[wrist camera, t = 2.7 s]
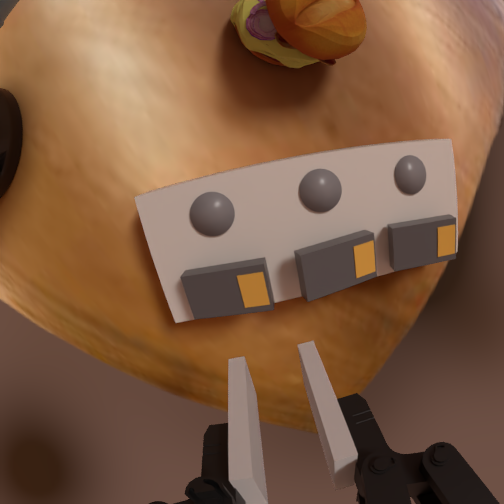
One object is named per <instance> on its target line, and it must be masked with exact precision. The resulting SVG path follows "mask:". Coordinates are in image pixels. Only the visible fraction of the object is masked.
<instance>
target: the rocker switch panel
mask: <svg viewBox="0 0 504 504" xmlns="http://www.w3.org/2000/svg"><path fill="white" fill-rule="evenodd" d="M134 198H135V202H136V205H137V209H138V212H139V216H140V219H141V223H142V226H143V230H144V233H145V236H146V239H147V243H148V246H149V249H150V252H151V255H152V258H153V261H154V264H155V267H156V270H157V273H158V276H159V279H160V282H161V285H162V288H163V291H164V293H165V296H166V299H167V302H168V304H169V307H170V310H171V312H172V315H173V318H174V320H175V323H178V322H184V321H189V320H195V319H194V317H193V314H192V311H191V308H190V305H189V302H188V299H187V296H186V293H185V290H184V287H183V284H182V281H181V278H180V277H181V275H182V274H183V273H184V271H185V270H189V269H196V268H202V267H208V266H214V265H220V264H227V263H233V262H239V261H245V260H251V259H257V258H263V257H265V259H266V263H267V268H268V272H269V277H270V282H271V287H272V291H273V296H274V301H275V303H276V302H280V301H284V300H289V299H293V298H297V297H301V296H302V295H301V290H300V284H299V278H298V272H297V266H296V260H295V255H294V250H298V249H301V248H305V247H308V246H311V245H315V244H318V243H321V242H325V241H328V240H332V239H335V238H338V237H342V236H345V235H348V234H352V233H355V232H358V231H362V230H367V231H370V232H373V233H374V239H375V251H376V267H377V276H381V275H385V274H388V273H391V272H395V271H394V270H393V269H392V268H391V267H390V261H389V242H388V228H387V224H393V223H399V222H405V221H411V220H417V219H423V218H429V217H435V216H441V215H447V214H450V215H452V216H454V217H456V252H457V247H458V210H457V189H456V176H455V165H454V156H453V148H452V141H451V139H424V140H412V141H401V142H391V143H382V144H373V145H365V146H358V147H350V148H343V149H336V150H330V151H324V152H317V153H311V154H306V155H300V156H294V157H289V158H284V159H278V160H273V161H268V162H264V163H259V164H254V165H249V166H245V167H240V168H236V169H231V170H227V171H223V172H219V173H215V174H211V175H207V176H203V177H199V178H195V179H191V180H187V181H183V182H180V183H176V184H172V185H169V186H165V187H162V188H158V189H155V190H151V191H148V192H146V193H143V194H141V195H138V196H136V197H134Z"/></svg>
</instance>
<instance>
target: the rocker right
mask: <svg viewBox="0 0 504 504" xmlns="http://www.w3.org/2000/svg"><path fill="white" fill-rule="evenodd" d="M387 228H388V242H389V261H390V267H391V268H392V269H393V270H394V271H399V270H404V269H409V268H414V267H419V266H424V265H428V264H433V263H438V262H442V261H447V260H451V259H455V258H456V217H454V216H452V215H450V214H447V215H441V216H435V217H429V218H423V219H417V220H411V221H405V222H399V223H393V224H387Z"/></svg>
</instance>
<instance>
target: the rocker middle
mask: <svg viewBox="0 0 504 504" xmlns="http://www.w3.org/2000/svg"><path fill="white" fill-rule="evenodd" d="M294 255H295V260H296V266H297V272H298V278H299V284H300V290H301V295H302V296H303V297H304V298H305V299H306V300H307V301H308V302H309V301H312V300H315V299H318V298H320V297H323V296H326V295H329V294H332V293H334V292H337V291H340V290H343V289H345V288H348V287H351V286H353V285H356V284H359V283H361V282H364V281H366V280H369V279H372V278H374V277H377V267H376V251H375V239H374V233H373V232H370V231H367V230H362V231H358V232H355V233H352V234H348V235H345V236H342V237H338V238H335V239H332V240H328V241H325V242H321V243H318V244H315V245H311V246H308V247H305V248H301V249H298V250H294Z"/></svg>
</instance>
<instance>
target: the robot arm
mask: <svg viewBox="0 0 504 504" xmlns="http://www.w3.org/2000/svg"><path fill="white" fill-rule="evenodd" d="M18 2H19V0H0V28H1V27H2V26H3V24H4V20H5V19H6V17H7V16H8V15H9V13H10V12H11V11H12V9H13V8H14V7H15V5H16V4H17V3H18ZM21 145H22V119H21V113H20V109H19V106H18V103H17V101H16V99H15V97H14V96H13V95H12V94H11V93H10V92H9V91H8V90H6V89H2V88H0V198H1V197H2V196H3V194H4V193H5V192H6V190H7V189H8V187H9V185H10V183H11V181H12V179H13V177H14V174H15V172H16V168H17V165H18V161H19V157H20V152H21ZM298 351H299V356H300V362H301V368H302V374H303V380H304V385H305V389H306V392H307V396H308V399H309V402H310V406H311V409H312V413H313V416H314V419H315V423H316V426H317V430H318V433H319V437H320V440H321V444H322V447H323V450H324V454H325V457H326V461H327V464H328V468H329V472H330V475H331V479H332V482H333V486H334V489H335V490H338V489H341V488H345V487H348V486H352V485H354V482H355V483H356V486H357V489H358V493H357V499H356V501H358V502H359V504H411V500H410V497H412V498H413V500H414V502H415V503H416V504H499V502H498V501H497V500H496V498H495V497H494V496H493V495H492V493H491V492H490V491H489V489H488V488H487V487H486V486H485V484H484V483H483V482H482V481H481V479H480V478H479V477H478V476H477V474H476V473H475V472H474V471H473V469H472V468H471V467H470V466H469V464H468V463H467V462H466V461H465V459H464V458H463V457H462V456H461V454H460V453H459V452H458V451H457V450H456V448H455V447H454V446H452V445H451V444H449V443H445V442H439V443H435V444H433V445H431V446H430V447H429V448H427V449H426V451H425V452H420V453H413V454H400V453H397V452H394V451H392V450H391V449H390V448H389V446H388V445H387V443H386V441H385V439H384V437H383V435H382V433H381V431H380V428H379V426H378V424H377V422H376V421H375V419H374V416H373V414H372V412H371V411H370V408H369V406H368V404H367V402H366V400H365V399H364V398H362V397H361V396H360V395H358V394H357V393H356V394H353V395H349V396H346V397H343V398H339V399H336V396H335V393H334V391H333V388H332V386H331V383H330V381H329V378H328V376H327V373H326V371H325V369H324V366H323V364H322V361H321V359H320V356H319V354H318V351H317V349H316V346H315V344H314V342H313V341H310V342H307V343H303V344H298ZM203 446H204V447H203V457H202V472H201V477H198V478H195V479H194V480H192V481H191V482H189V484H188V486H187V487H186V490H185V495H186V496H188V498H190V499H188V500H186V501H182V502H179V503H174V504H268V499H267V490H266V481H265V472H264V463H263V453H262V445H261V435H260V425H259V416H258V406H257V396H256V392H255V389H254V386H253V382H252V379H251V376H250V373H249V370H248V367H247V363H246V360H245V357H238V358H233V359H229V372H228V423H224V424H216V425H209V427H208V429H207V431H206V433H205V434H204V442H203ZM149 504H167V503H165V502H161V501H155V502H152V503H149Z"/></svg>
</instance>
